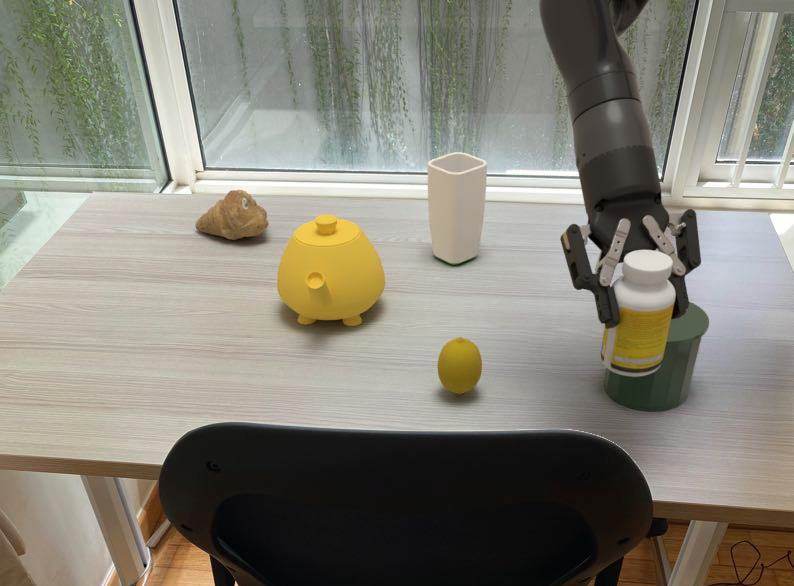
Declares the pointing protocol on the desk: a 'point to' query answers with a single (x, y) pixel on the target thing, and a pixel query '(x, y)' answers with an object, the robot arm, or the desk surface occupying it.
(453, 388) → the lemon
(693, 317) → the pot lid
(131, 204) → the desk surface
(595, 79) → the robot arm
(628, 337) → the pill bottle
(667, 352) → the pot
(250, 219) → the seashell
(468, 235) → the cup
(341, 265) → the teapot
